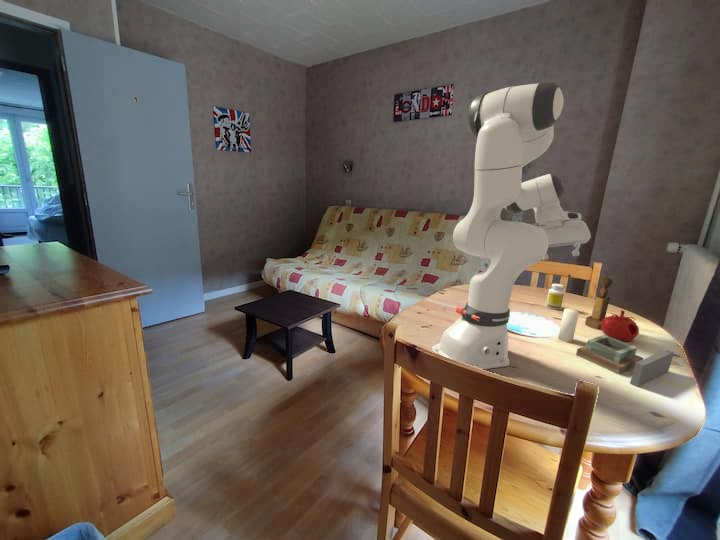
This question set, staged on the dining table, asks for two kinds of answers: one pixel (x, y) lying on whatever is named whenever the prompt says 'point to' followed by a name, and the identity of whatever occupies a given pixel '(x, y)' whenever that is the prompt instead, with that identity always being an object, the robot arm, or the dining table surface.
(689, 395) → the dining table surface
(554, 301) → the supplement bottle
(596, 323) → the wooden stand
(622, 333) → the pomegranate
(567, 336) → the dowel
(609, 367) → the socket block
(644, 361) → the backstop wall
